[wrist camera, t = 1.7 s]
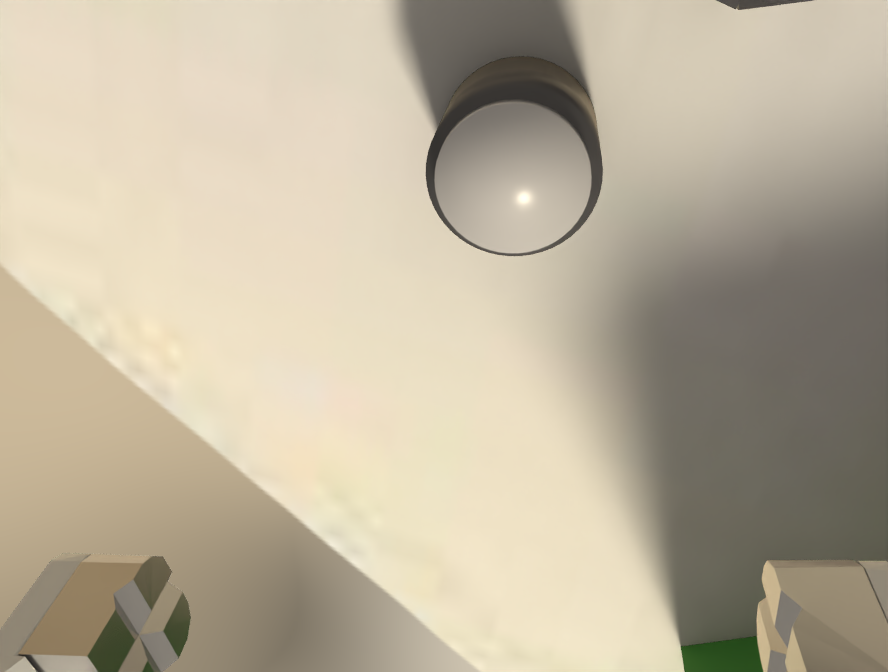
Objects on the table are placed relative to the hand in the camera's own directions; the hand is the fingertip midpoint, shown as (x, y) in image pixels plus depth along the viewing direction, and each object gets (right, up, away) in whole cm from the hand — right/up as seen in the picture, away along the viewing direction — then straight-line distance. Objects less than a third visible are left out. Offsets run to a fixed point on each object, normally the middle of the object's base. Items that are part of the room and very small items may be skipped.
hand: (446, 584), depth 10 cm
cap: (+3, +11, +16) cm, 19 cm away
